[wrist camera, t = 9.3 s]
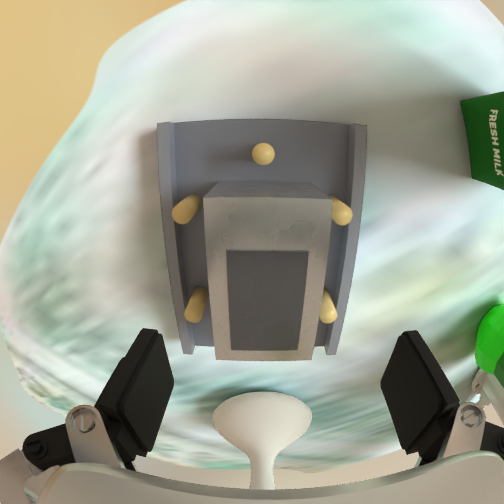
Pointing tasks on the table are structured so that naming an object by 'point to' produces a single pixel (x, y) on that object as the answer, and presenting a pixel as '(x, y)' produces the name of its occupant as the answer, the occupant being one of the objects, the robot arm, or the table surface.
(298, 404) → the flower in vase
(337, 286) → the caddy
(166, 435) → the table surface
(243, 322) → the block
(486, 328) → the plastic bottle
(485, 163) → the milk carton
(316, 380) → the table surface
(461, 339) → the table surface
